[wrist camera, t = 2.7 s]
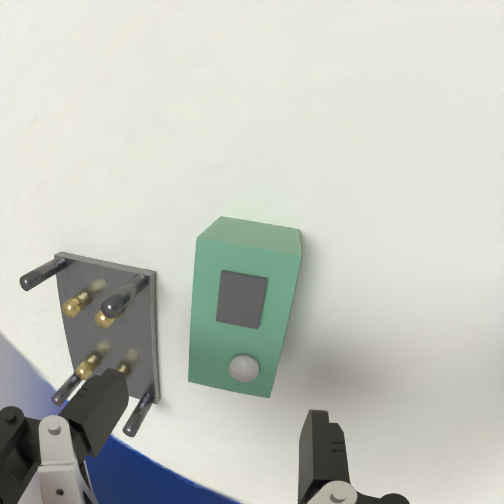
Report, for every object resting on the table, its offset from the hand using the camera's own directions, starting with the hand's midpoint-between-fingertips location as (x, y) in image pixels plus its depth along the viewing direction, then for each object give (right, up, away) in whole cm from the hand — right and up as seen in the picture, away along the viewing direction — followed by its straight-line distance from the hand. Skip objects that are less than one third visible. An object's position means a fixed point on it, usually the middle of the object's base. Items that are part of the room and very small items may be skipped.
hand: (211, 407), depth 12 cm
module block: (+2, +4, +11) cm, 12 cm away
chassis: (-12, -1, +14) cm, 19 cm away
